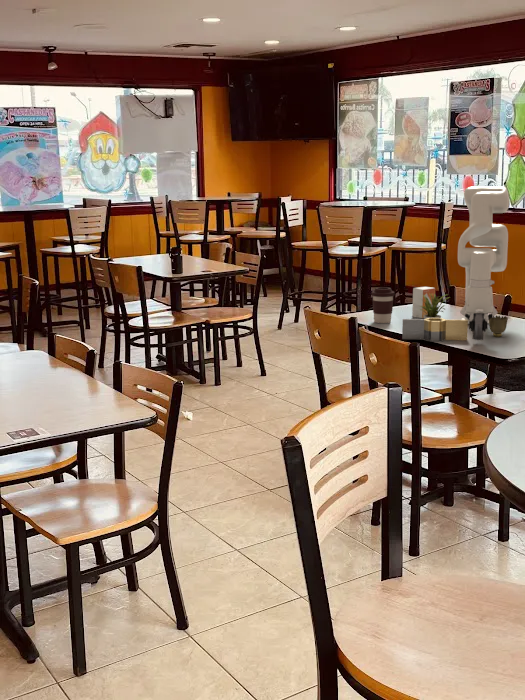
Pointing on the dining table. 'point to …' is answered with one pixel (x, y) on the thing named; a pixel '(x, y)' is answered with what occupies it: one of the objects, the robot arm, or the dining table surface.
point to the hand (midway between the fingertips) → (478, 330)
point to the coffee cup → (382, 304)
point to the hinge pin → (478, 325)
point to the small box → (418, 302)
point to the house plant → (433, 307)
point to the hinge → (434, 329)
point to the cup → (498, 325)
